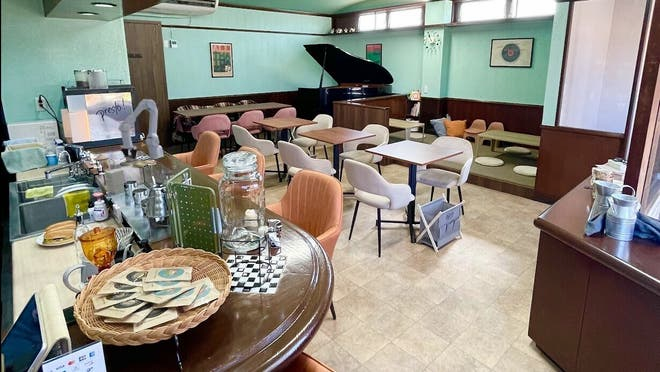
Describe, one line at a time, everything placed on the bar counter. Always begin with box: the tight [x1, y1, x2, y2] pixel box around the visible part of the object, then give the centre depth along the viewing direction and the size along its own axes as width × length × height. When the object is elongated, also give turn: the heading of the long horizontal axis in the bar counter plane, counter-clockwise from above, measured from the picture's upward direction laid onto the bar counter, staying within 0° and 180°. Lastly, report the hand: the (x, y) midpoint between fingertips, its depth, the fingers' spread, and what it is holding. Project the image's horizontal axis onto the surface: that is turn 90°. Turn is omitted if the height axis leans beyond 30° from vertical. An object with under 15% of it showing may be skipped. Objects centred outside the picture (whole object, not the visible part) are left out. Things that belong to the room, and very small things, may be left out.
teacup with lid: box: [93, 153, 116, 170], centre depth 279 cm, size 12×9×12 cm
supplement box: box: [104, 168, 127, 195], centre depth 230 cm, size 7×7×13 cm
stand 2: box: [132, 159, 158, 168], centre depth 290 cm, size 12×10×2 cm
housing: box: [123, 153, 138, 163], centre depth 295 cm, size 7×4×5 cm, turn 154°
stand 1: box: [119, 158, 144, 167], centre depth 296 cm, size 12×10×2 cm
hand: (131, 158), depth 295 cm, fingers open, 7 cm apart
